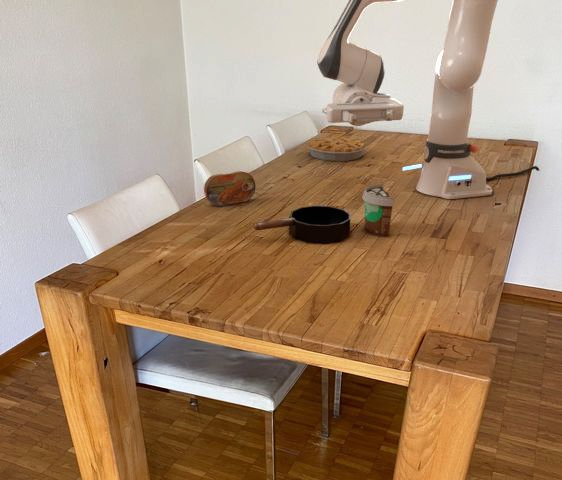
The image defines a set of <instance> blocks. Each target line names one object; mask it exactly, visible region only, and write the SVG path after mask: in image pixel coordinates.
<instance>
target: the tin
mask: <svg viewBox="0 0 562 480" xmlns="http://www.w3.org/2000/svg"><path fill="white" fill-rule="evenodd" d="M255 192H256V181H255V178H254V177H253V176H252V175H251V174H250V173H249V172H246V171H241V170H239V171H238V170H237V171H232V172H224V173H218V174H217V173H216V174H212V175H211V176H209V177H208V178H207V179H206V181H205V182H204V185H203V194H204V197H205V199H206V200H207V201H208V202H209V203H210V204H212V205H214V206H216V207H224V206H229V205H234V204H241V203H246V202H247V201H249V200H251V199H252V198H253V196H254V194H255Z"/></svg>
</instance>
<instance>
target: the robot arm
mask: <svg viewBox="0 0 562 480" xmlns="http://www.w3.org/2000/svg"><path fill="white" fill-rule="evenodd" d="M402 1H403V0H348V2H347V4H346V5H345V7H344V9H343V11H342V12H341V15H340V17H339V18H338V20H337V21H336V23H335V25H334V26H333V27H334V28H333V29H332V31H331V33H329V36H328V37H327V38H326V41H325V42H324V43H323V44H322V46H321V49H320V50H319V53H318V56H317V62H316V64H317V67H318V69H319V72H320V73H321V75H322V76H323V78H326V79H329V80H333V81H338V82H341V84H339V85H338V86H337V87H336V88H335V89H334V91H333V93H332V103H328V104H326V107H325V108H322V109H321V112H322V113H323V114H325V116H326V117H325V118H326V121H327V122H328V123H331V124H337V123H339V124H341V123H348V124H350V125H351V126H354V127H361V126H362V127H363V126H364V125H368V124H372V123H375V122H384V121H385V122H392V121H401V120H402V119H403V117H404V108H405V107H404V104H403V103H401V101H399V100H397V99H396V98H392V97H391V94H389V93H384V92H383V93H382V92H379V90H380V89H381V86H382V84H383V82H384V78H385V73H386V70H385V69H386V68H385V63H384V59H383V56H382V55H381V54H379V53H376V52H375V51H372V50H370V49H367V48H364V47H362V46H360V45H357V44H354V43H352V42H350V41H349V37H350V36H351V33H352V32H353V31H354V28H355V26H356V25H357V23H358V21H359V19H360V18H361V16H362V15H363V12H364V11H365V10H366V9H367V8H368V7H369V6H371V5H374V4H377V3H396V2H397V3H398V2H402ZM498 1H499V0H452V3H451V9H450V12H449V16H448V17H449V18H448V23H447V30H446V35H445V40H444V44H443V49H442V50H441V52H440V53H439V55H438V57H437V59H436V64H435V72H434V73H435V74H434V83H433V94H432V104H431V112H430V121H429V130H428V136H427V139H426V140H425V145H424V146H425V147H424V151H423V164H422V163H419V164H414V165H407V166H403V167H402V171H409V170H415V169H420V168H421V172H420V175H419V179H418V181H417V184H416V186H415V190H416V191H417V192H419V193H421V194H424V195H428V196H431V197H432V196H433V197H438V198H443V199H446V200H457V199H465V198H474V197H475V198H477V197H484V196H485V197H486V196H492V195H493V189H492V187H491V186H490V185H489V184H487V181H493V180H496V179H498V178H506V177H515V176H520V175H523V174H526V173H529V172H531V171H534V170H535V171H537V172H539V171H540V168H539V166H537V165H533V166H531V167H529V168H526V169H522V170H520V171H515V172H508V173H500V174H495V175H493V176H490V177H487V173H486V170H485V168H484V167H483V166H482V165H481V164H480V163H478V161H477V160H476V159H475V158H474V157H472V155H471V153H472V154H476V153H477V152H478V151H479V147H478V146H477V145H475V144H471V143H470V142H468V136H469V130H470V124H471V120H472V119H471V118H472V112H473V111H472V109H473V97H474V88H475V85H476V84H477V82H478V81H479V79H480V78H481V74H482V73H483V67H484V63H485V60H486V59H485V58H486V54H487V50H488V45H489V39H490V34H491V29H492V23H493V20H494V16H495V12H496V8H497V5H498Z"/></svg>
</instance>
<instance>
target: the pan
mask: <svg viewBox="0 0 562 480" xmlns="http://www.w3.org/2000/svg"><path fill="white" fill-rule="evenodd" d="M351 218H352V214H351V213H350V212H348V211H346V209H343V208H340V207H335V206H330V205H308V206H301V207H298V208H295V209H293V210H291V211H290V213H289V216H288V217H287V218H282V219H281V218H280V219H273V220H266V221H259V222H255V223H254V225H253V228H254V230H256V231H263V230H270V229H271V230H272V229H278V228H285V227H288V235H289V236H290V237H292V238H293V239H294V240H296V241H300V242H303V243H307V244H314V245H315V244H316V245H327V244H328V245H329V244H335V243H341V242H342V241H345V240H347V239H349V238H350V233H351Z"/></svg>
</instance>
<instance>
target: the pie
mask: <svg viewBox="0 0 562 480" xmlns="http://www.w3.org/2000/svg"><path fill="white" fill-rule="evenodd" d="M306 147H307V149H308V150H309V153H310V155H311V157H313V158H315V159H319V160H323V161H330V162H331V161H332V162H348V161H354V160H358V159H360V158H361V157H362V156H363V154H364V152H365V151H366V149H367V148H368V146H367V143H366V141H364V140H359V139H358V138H350V137H348V136H346V137H340V136H334V137H330V136H325V137H323V138H317V137H316V138H315V139H311V140H310V141H308V142H307V145H306Z"/></svg>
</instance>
